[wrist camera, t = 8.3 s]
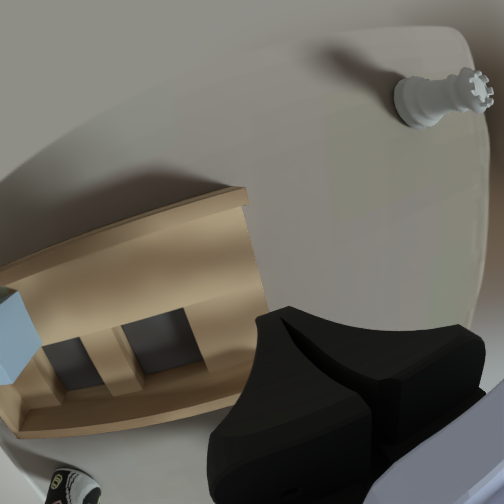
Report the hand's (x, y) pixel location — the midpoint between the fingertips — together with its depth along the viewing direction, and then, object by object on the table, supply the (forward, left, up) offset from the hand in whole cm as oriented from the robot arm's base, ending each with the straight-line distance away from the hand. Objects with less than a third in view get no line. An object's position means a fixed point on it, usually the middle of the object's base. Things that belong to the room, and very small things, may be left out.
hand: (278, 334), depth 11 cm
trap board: (-1, +10, -10) cm, 14 cm away
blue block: (+1, +17, -8) cm, 19 cm away
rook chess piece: (+9, -17, -10) cm, 22 cm away
